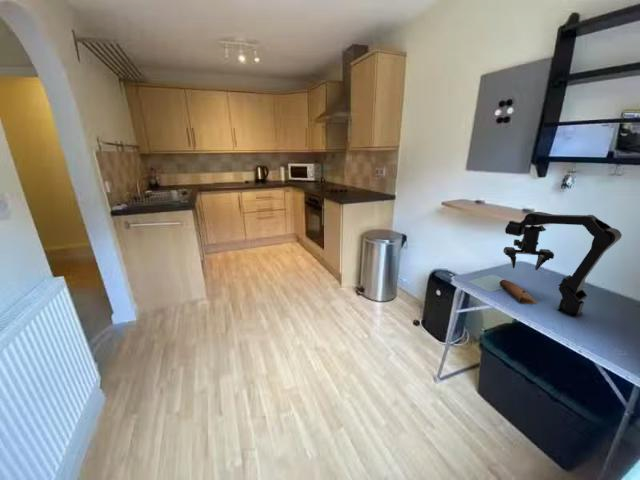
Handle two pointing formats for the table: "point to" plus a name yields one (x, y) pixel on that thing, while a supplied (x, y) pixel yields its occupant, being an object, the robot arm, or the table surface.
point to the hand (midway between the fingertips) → (524, 269)
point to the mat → (488, 283)
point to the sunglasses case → (517, 292)
